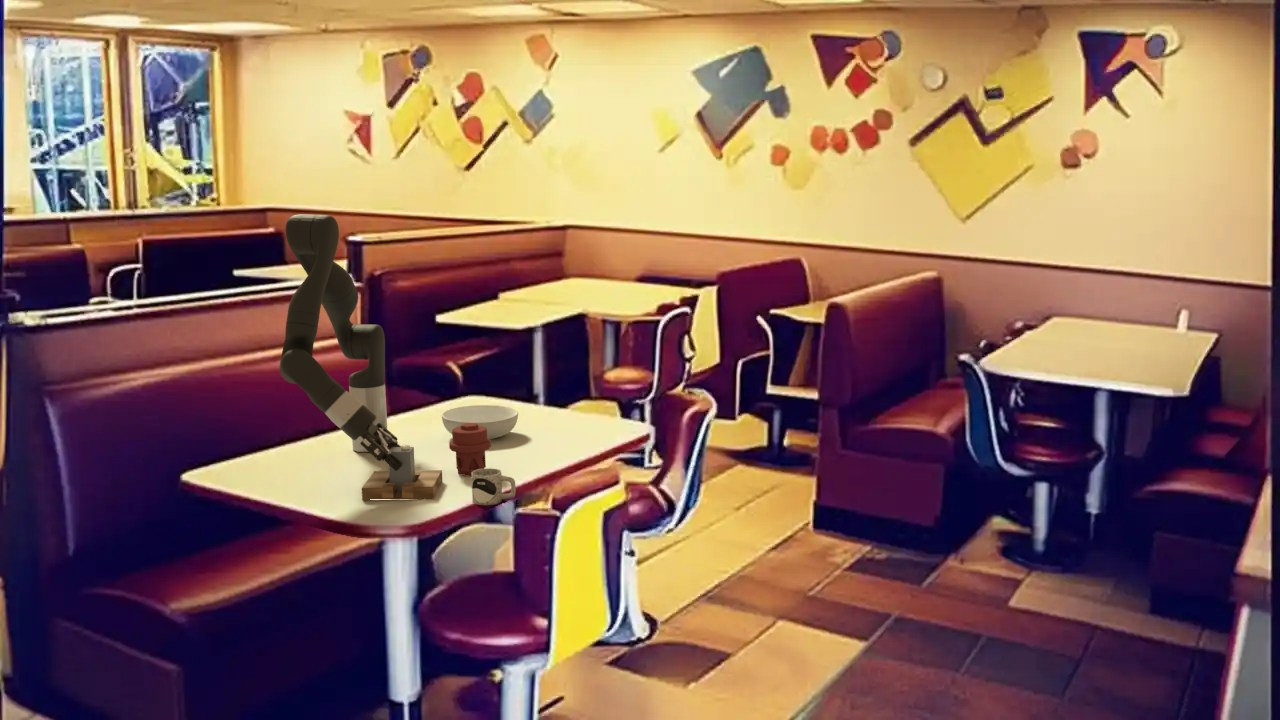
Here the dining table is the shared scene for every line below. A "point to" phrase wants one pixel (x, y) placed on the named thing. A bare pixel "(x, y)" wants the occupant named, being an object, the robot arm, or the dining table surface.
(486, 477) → the mug
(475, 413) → the serving bowl
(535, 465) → the dining table surface
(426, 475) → the plate
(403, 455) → the block
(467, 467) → the mechanical component
